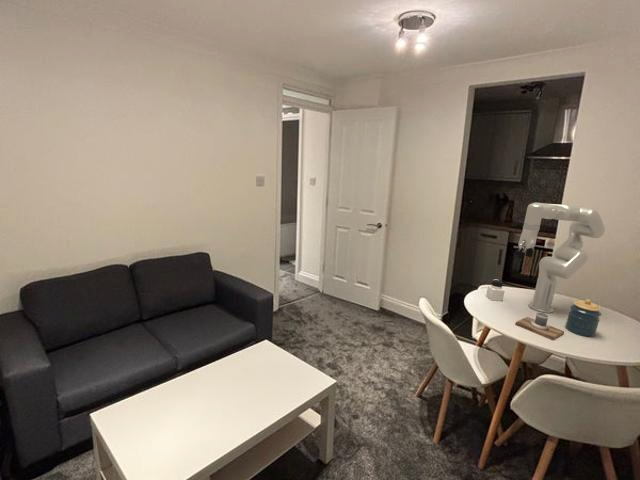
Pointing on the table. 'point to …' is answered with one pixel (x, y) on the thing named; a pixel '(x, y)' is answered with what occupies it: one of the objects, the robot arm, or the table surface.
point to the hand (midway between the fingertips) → (524, 257)
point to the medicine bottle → (495, 290)
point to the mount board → (541, 332)
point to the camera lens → (541, 319)
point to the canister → (583, 318)
